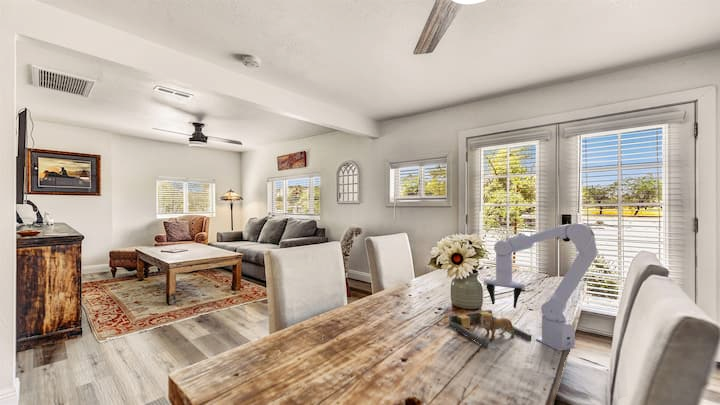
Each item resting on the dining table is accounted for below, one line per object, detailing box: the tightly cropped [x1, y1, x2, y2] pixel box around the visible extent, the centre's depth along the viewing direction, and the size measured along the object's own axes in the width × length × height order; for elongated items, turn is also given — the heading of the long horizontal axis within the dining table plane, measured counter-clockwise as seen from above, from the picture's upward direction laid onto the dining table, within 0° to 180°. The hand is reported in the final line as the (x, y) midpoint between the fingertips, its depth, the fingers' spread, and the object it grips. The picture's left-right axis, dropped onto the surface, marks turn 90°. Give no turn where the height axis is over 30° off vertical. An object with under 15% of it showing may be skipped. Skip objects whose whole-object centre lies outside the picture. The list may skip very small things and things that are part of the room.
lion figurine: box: [480, 314, 515, 340], centre depth 113 cm, size 15×5×9 cm, turn 108°
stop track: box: [448, 309, 532, 349], centre depth 117 cm, size 21×20×4 cm
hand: (503, 305), depth 119 cm, fingers open, 7 cm apart
